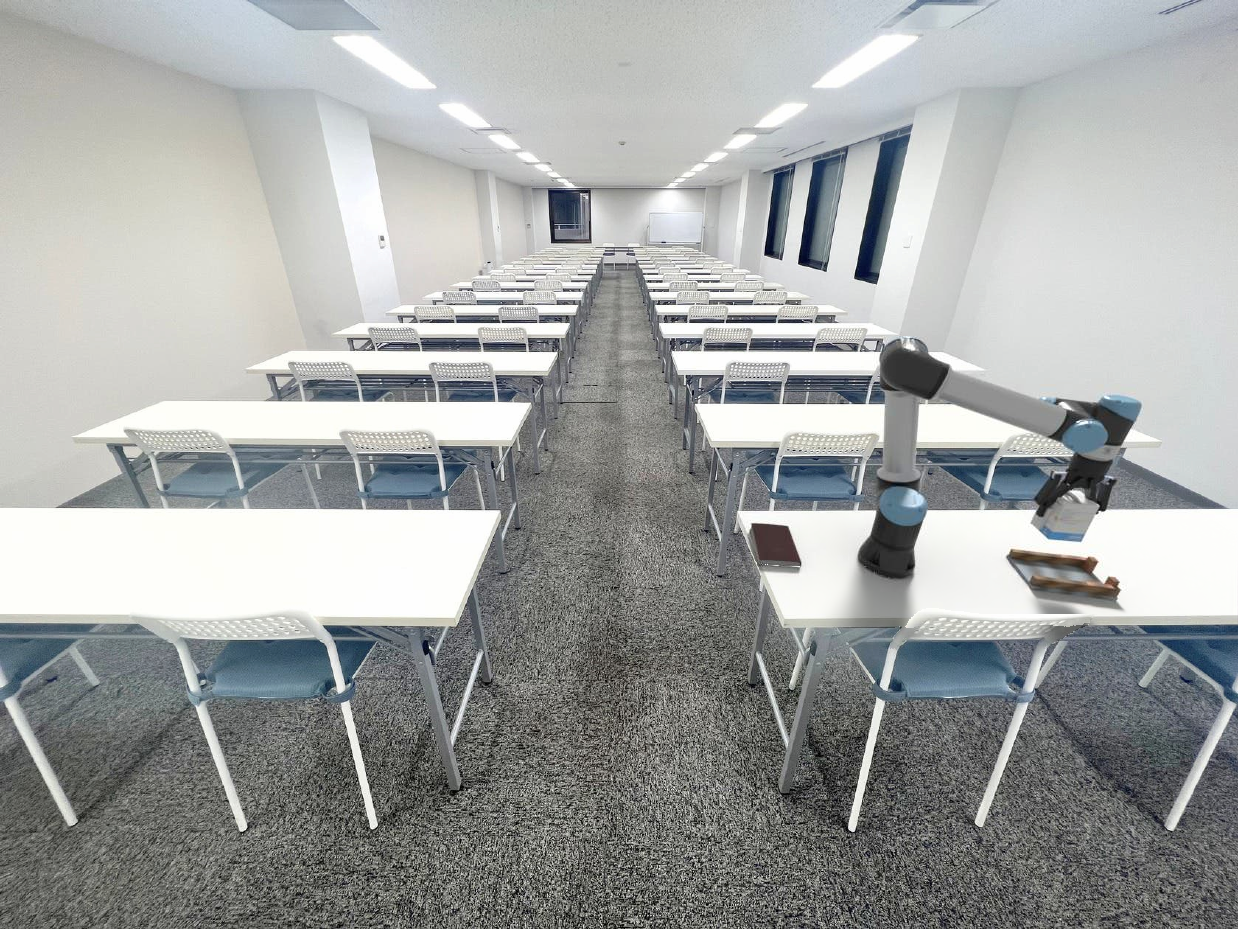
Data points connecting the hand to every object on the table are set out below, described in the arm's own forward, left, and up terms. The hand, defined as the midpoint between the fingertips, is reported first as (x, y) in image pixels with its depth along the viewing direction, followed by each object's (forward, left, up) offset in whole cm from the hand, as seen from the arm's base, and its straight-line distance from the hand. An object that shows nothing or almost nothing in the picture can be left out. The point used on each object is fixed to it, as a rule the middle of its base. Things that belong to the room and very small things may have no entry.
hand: (1056, 528), depth 132 cm
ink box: (0, 0, -2) cm, 2 cm away
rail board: (+5, -1, -16) cm, 17 cm away
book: (-74, -5, -17) cm, 76 cm away
